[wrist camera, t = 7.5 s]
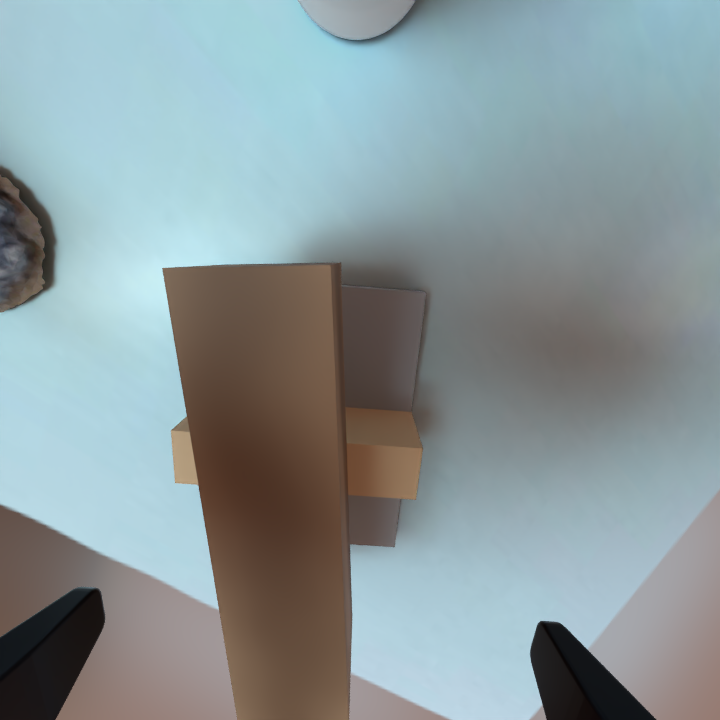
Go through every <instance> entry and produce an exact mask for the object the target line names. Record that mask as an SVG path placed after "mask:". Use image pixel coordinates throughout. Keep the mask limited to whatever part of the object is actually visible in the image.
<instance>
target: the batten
mask: <svg viewBox="0 0 720 720" xmlns="http://www.w3.org/2000/svg"><path fill="white" fill-rule="evenodd" d="M162 269H163V275H164V281H165V287H166V293H167V299H168V305H169V311H170V317H171V323H172V329H173V335H174V341H175V347H176V353H177V359H178V365H179V371H180V377H181V383H182V389H183V395H184V401H185V407H186V413H187V419H188V425H189V431H190V437H191V443H192V449H193V455H194V461H195V467H196V473H197V479H198V485H199V491H200V497H201V503H202V509H203V515H204V521H205V527H206V533H207V539H208V545H209V551H210V557H211V563H212V569H213V575H214V582H215V588H216V594H217V600H218V606H219V612H220V618H221V623H222V630H223V635H224V642H225V647H226V654H227V660H228V665H229V672H230V677H231V684H232V689H233V695H234V702H235V707H236V713H237V720H349V703H350V671H351V638H352V597H351V565H350V534H349V503H348V471H347V440H346V409H345V378H344V346H343V315H342V284H341V263H292V264H239V265H211V266H193V267H175V268H162Z"/></svg>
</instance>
